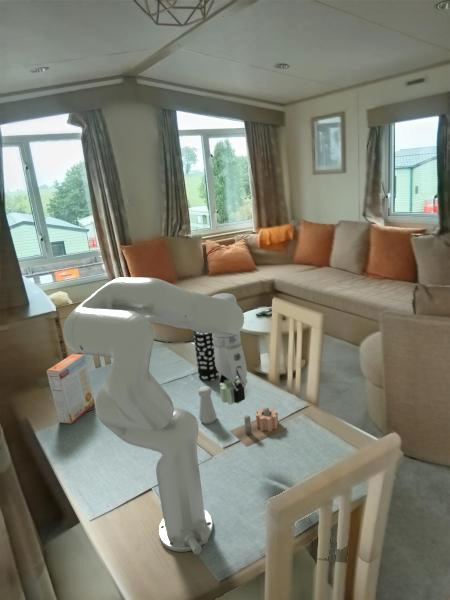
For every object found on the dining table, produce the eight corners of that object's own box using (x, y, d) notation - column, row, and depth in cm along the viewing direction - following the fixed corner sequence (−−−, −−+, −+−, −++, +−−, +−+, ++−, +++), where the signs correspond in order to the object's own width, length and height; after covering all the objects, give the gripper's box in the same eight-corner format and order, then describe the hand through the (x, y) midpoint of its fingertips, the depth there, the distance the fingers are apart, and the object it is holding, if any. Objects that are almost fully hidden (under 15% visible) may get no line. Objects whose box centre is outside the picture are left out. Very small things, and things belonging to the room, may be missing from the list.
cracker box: (82, 402, 160) (72, 353, 154) (95, 404, 158) (85, 353, 152) (57, 423, 148) (45, 369, 142) (71, 425, 146) (59, 371, 140)
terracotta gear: (282, 423, 133) (281, 410, 132) (270, 434, 128) (270, 421, 126) (264, 417, 137) (263, 405, 136) (252, 427, 132) (251, 415, 131)
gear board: (287, 431, 130) (285, 411, 128) (247, 450, 123) (245, 429, 121) (268, 417, 139) (267, 398, 137) (230, 434, 132) (228, 414, 130)
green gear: (249, 398, 118) (248, 385, 117) (229, 407, 115) (227, 393, 113) (236, 389, 124) (235, 376, 122) (217, 397, 120) (215, 383, 119)
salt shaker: (214, 428, 136) (210, 392, 132) (198, 427, 137) (193, 392, 133) (218, 418, 141) (214, 383, 138) (202, 417, 142) (198, 383, 139)
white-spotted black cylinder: (195, 375, 174) (190, 330, 168) (213, 370, 177) (209, 326, 171) (203, 383, 166) (197, 337, 161) (221, 377, 170) (217, 332, 164)
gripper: (255, 344, 108) (260, 403, 113) (222, 326, 122) (228, 379, 128) (231, 352, 105) (237, 413, 110) (200, 333, 119) (207, 388, 124)
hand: (232, 395), depth 119 cm, fingers closed on green gear, 6 cm apart
